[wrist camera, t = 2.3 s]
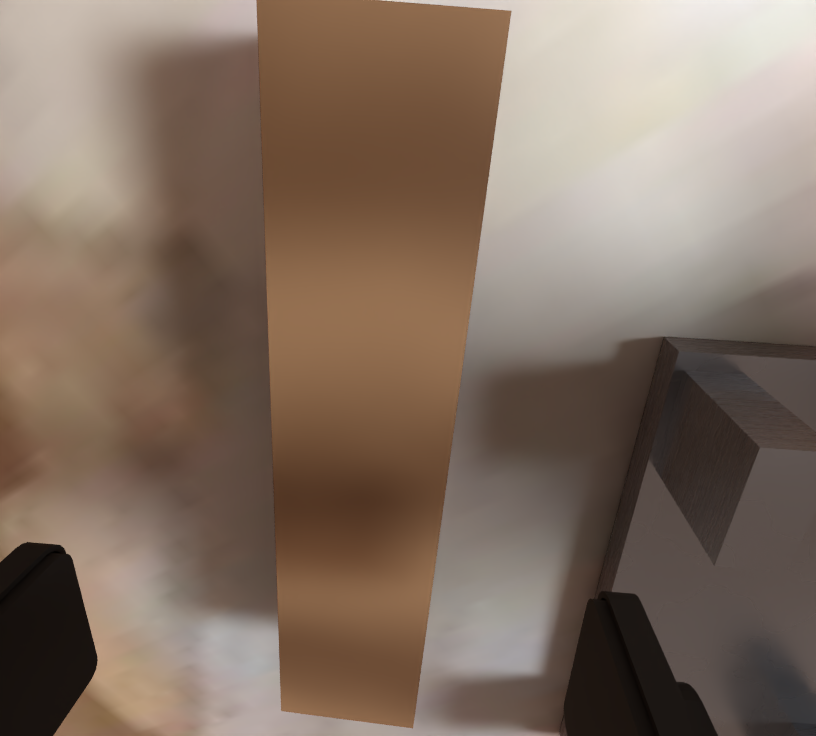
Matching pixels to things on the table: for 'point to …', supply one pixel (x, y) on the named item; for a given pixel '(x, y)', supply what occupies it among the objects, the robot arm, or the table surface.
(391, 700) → the rail
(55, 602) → the robot arm
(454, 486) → the table surface
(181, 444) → the table surface
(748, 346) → the cradle
